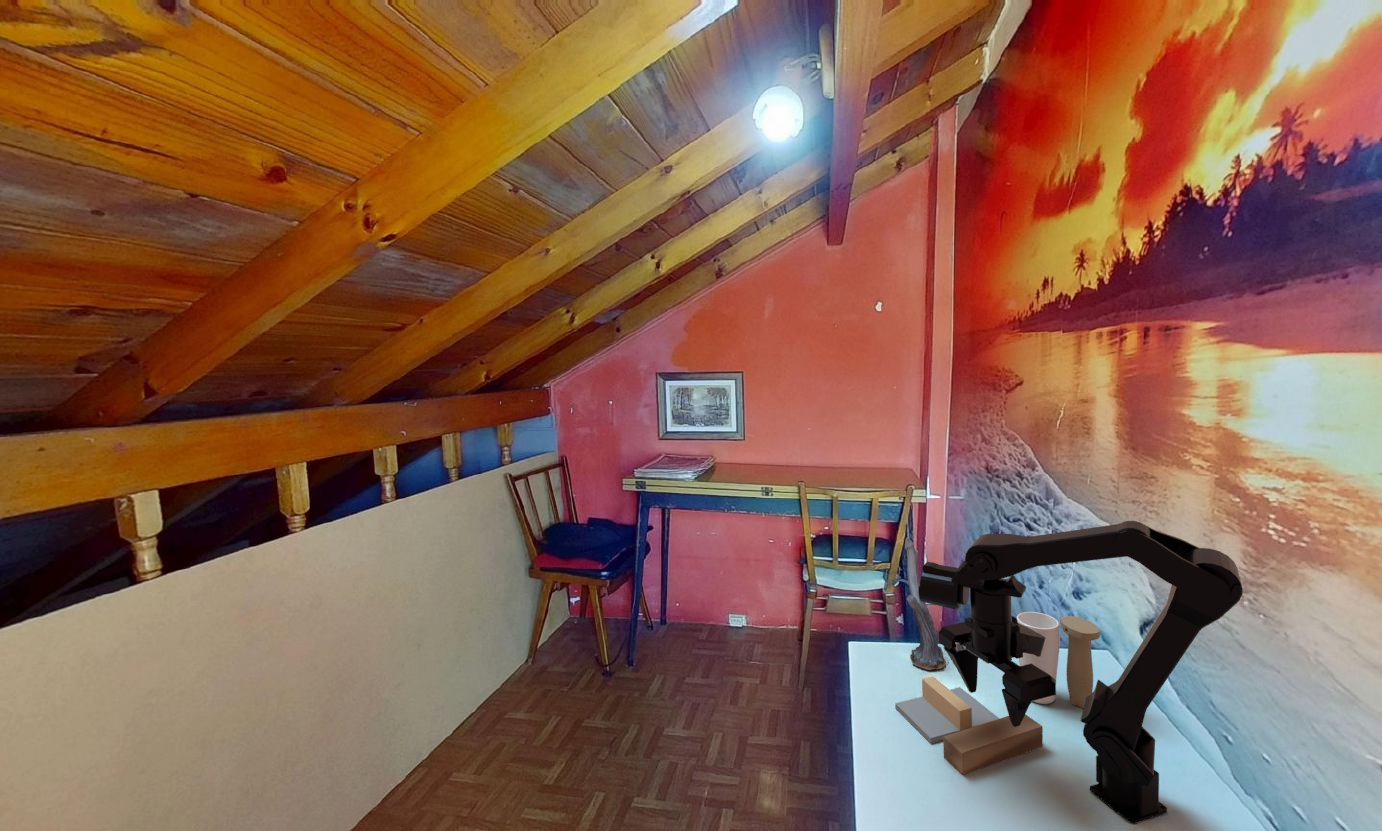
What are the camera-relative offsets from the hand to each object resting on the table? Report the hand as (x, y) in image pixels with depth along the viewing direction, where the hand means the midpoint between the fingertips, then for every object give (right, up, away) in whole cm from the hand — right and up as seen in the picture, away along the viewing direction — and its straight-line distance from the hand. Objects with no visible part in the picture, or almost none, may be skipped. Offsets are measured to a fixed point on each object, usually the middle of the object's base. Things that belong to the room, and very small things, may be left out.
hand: (993, 707), depth 90 cm
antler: (+1, -5, +30) cm, 30 cm away
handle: (+22, -5, +11) cm, 25 cm away
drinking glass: (+16, -5, +14) cm, 22 cm away
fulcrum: (-3, -7, +10) cm, 13 cm away
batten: (+1, -8, +1) cm, 8 cm away
